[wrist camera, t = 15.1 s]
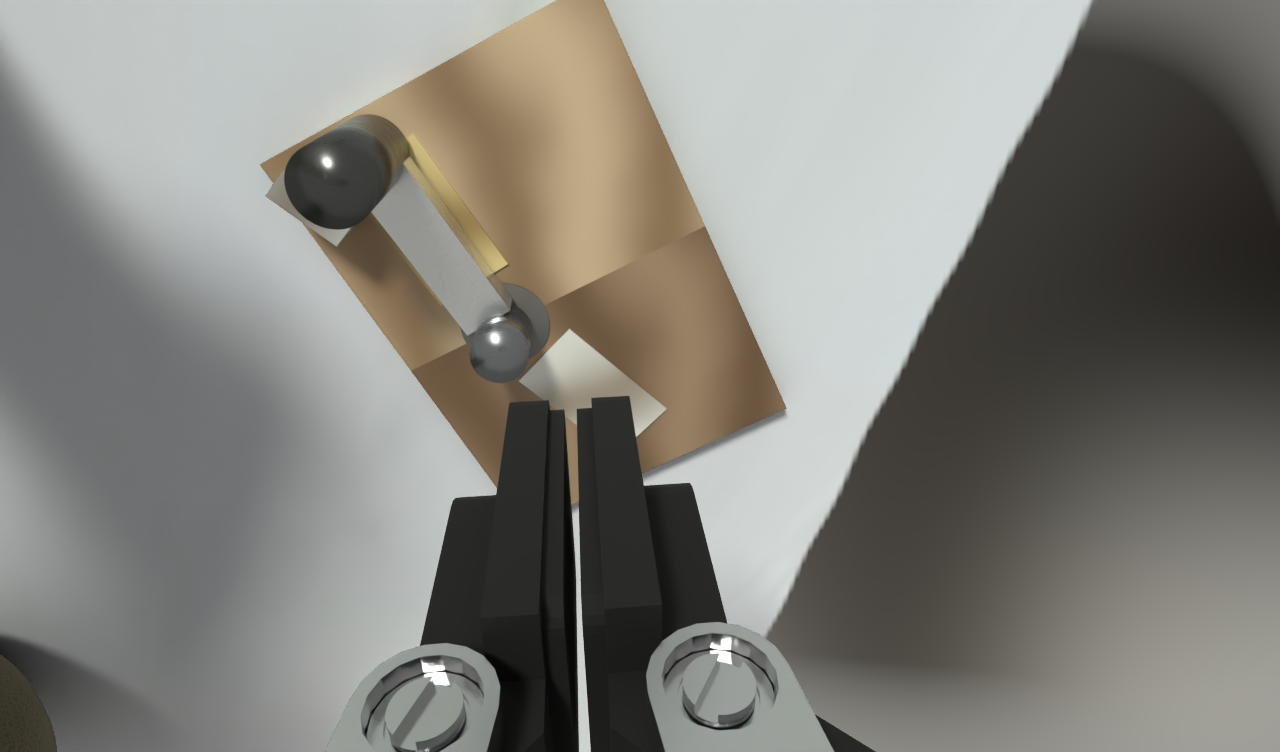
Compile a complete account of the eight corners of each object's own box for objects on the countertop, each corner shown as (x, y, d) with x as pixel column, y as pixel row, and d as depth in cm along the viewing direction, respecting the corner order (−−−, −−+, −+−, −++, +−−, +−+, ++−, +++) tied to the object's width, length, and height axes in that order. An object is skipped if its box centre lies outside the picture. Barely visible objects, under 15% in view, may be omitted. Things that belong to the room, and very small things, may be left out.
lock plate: (525, 516, 39) (522, 556, 36) (266, 160, 30) (235, 178, 27) (782, 400, 37) (800, 434, 35) (593, -20, 28) (596, -22, 25)
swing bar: (545, 333, 33) (541, 398, 28) (494, 362, 34) (480, 432, 28) (378, 99, 28) (335, 125, 23) (320, 138, 28) (264, 171, 23)
